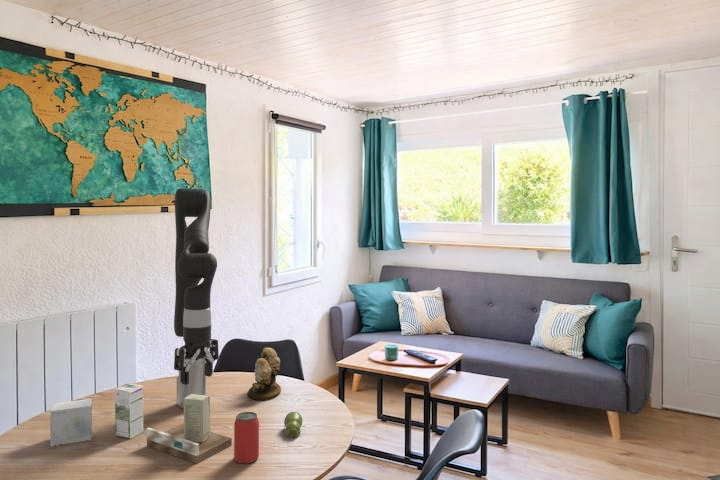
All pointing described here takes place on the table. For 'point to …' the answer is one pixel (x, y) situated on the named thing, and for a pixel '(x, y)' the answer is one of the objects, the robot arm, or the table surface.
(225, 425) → the table surface
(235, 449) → the beer can
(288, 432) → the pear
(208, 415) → the skincare box
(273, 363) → the brown lumpy upright piece
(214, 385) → the table surface
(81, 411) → the skincare box
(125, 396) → the syrup box
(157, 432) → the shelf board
